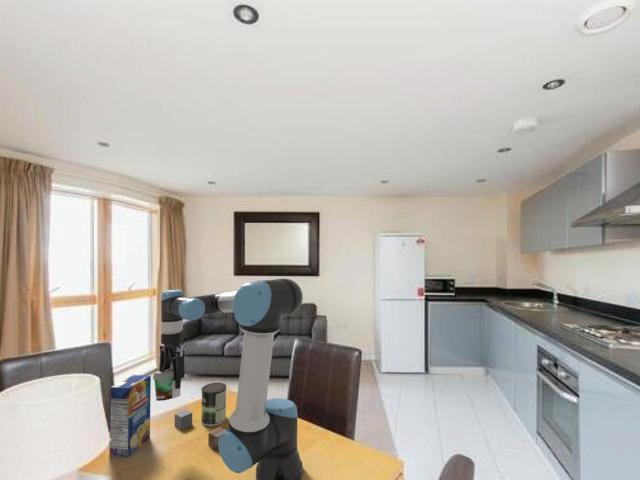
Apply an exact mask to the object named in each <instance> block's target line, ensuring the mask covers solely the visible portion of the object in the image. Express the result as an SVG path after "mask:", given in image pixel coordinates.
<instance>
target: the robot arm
mask: <svg viewBox="0 0 640 480" xmlns="http://www.w3.org/2000/svg"><path fill="white" fill-rule="evenodd" d="M302 303H303V291H302V288H301V287H300V285H299V284H298V283H297V282H296V281H294V280H292V279H288V278H276V279H266V280H264V279H263V280H254V281H250V282H246V283H244V284H242V285H241V286H240V287H239V288H238V289H237V291H229V292H219V293H213V294H207V295H206V294H205V295H197V296H196V295H195V296H185V295H184V291H183V290H182V289H167V290H164V291H162V292H161V299H160V318H161V320H160V333H161V334H160V343H161V345H160V346H159V369H158V371H159V373H161V372H162V371H164V370H165V369H168V368H172V369H173V372H174V379H172V381H173V383H172V399H177V398H179V397H181V389H180V387H181V388H182V386H181V384H182V379H183V378H185V376H186V375H185V354H186V351H185V350H184V349H183V350H181V346H180V343H182V342H183V340H184V331H183V329H184V328H183V327H184V320H187V321H197V320H199V319H200V318H201V317H205V316H211V315H217V314H226V313H227V314H228V313H233V314H234V317H233V318H234V319H235V320H236V322H237V323H238V324H239V326H238V327H239V329H240V330H241V331H242V333H243V338H242V339H243V342H242V348H241V360H240V367H239V368H240V369H239V376H238V377H239V378H238V385H237V393H236V394H237V395H236V404H235V410H234V411H233V412H232V413H231V414H230V416H229V419H228V428H227V429H225V431H223V433H222V434H220V436H219V439H218V448H219V450H218V452H219V455H220V457H221V459H222V462H223V463H224V465H225V466H226V468H228V469H229V470H230V471H231V472H233V473H235V474H241V473H242V474H243V473H244V472H245V471H247V470H250V469H251V468H252V467H254V466H255V465H256V468H255V480H302V478H303V469H304V466H303V462H302V459H301V456H300V453H299V449H298V417H299V416H298V407H297V404H296V403H295V402H294V401H292V400H291V399H290V400H289V399H286V398H280V397H275V398H269V399H268V391H269V383H270V376H271V375H270V374H271V366H272V357H273V349H274V347H273V346H274V341H275V338H274V337H275V335H276V334H277V333H279V332H280V330H281V324H282V319H283V318H286V317H289V316H292V315H294V314H295V313H296V312H297V311H298V310H300V308H301V306H302Z"/></svg>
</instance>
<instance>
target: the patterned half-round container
mask: <svg viewBox="0 0 640 480" xmlns="http://www.w3.org/2000/svg"><path fill="white" fill-rule="evenodd" d="M172 379H174V372H173V369H172V367H170V368H168V369H165V370H164V371H162V372H153V376H152V380H153V381H154V390H155V399H156V401H158V402H159V401H162V402H163V401H168V400H171V399H173V398H172V383H173V381H172ZM181 388H182V386H181V387H180V390H181Z"/></svg>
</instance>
